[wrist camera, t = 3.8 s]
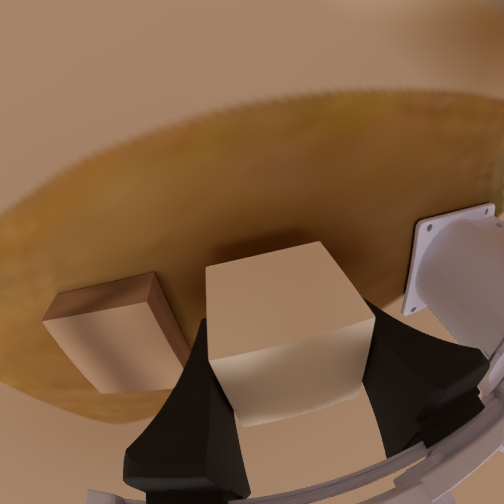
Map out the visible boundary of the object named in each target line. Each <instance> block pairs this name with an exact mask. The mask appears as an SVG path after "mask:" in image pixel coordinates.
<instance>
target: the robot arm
mask: <svg viewBox="0 0 504 504" xmlns="http://www.w3.org/2000/svg"><path fill="white" fill-rule="evenodd" d="M494 212H495V205H494V204H493V203H487V204H483V205H479V206H475V207H471V208H467V209H463V210H459V211H455V212H451V213H447V214H443V215H439V216H435V217H431V218H427V219H423V220H421V221H419V222H418V223H417V225H416V229H415V237H414V245H413V252H412V259H411V265H410V271H409V277H408V282H407V287H406V292H405V297H404V301H403V306H402V310H401V313H402V314H403V315H404V316H408V315H410V314H413V313H415V312H418V311H420V310H422V309H425V308H427V307H428V308H429V309H430V310H431V311H432V312H433V314H434V315H435V316H436V317H437V318H438V319H439V321H440V322H441V323H442V324H443V325H444V326H445V328H446V329H447V330H448V331H449V332H450V334H451V335H452V336H453V337H454V339H455V340H456V341H457V342H458V343H459V345H458V344H454V343H451V342H447V341H444V340H441V339H438V338H435V337H433V336H430V335H428V334H425V333H422V332H420V331H418V330H416V329H414V328H412V327H410V326H408V325H406V324H404V323H402V322H400V321H398V320H397V319H395V318H393V317H392V316H390V315H388V314H387V313H385V312H384V311H382V310H381V309H379V308H378V307H376V306H375V305H373V304H372V303H370V302H369V301H367V300H366V299H365V298H363V297H362V296H361V297H362V298H363V300H364V301H365V303H366V304H367V305H368V307H369V308H370V310H371V311H372V313H373V314H374V315H375V323H374V328H373V333H372V339H371V344H370V348H369V353H368V358H367V362H366V366H365V371H364V375H363V379H362V382H363V385H364V387H365V390H366V392H367V395H368V397H369V400H370V403H371V405H372V408H373V411H374V414H375V417H376V420H377V423H378V427H379V430H380V433H381V437H382V441H383V445H384V449H385V453H386V457H387V459H386V460H384V461H382V462H379V463H377V464H374V465H372V466H370V467H367V468H365V469H362V470H359V471H357V472H354V473H351V474H349V475H346V476H343V477H340V478H337V479H334V480H331V481H328V482H325V483H321V484H318V485H314V486H310V487H306V488H303V489H299V490H294V491H289V492H285V493H280V494H275V495H270V496H264V497H257V498H250V499H247V497H248V496H249V495H250V494H251V491H250V487H249V484H248V479H247V476H246V472H245V467H244V463H243V458H242V454H241V450H240V444H239V439H238V434H237V429H236V424H235V418H234V410H233V408H232V406H231V404H230V402H229V400H228V398H227V396H226V394H225V393H224V391H223V389H222V387H221V385H220V383H219V381H218V379H217V377H216V375H215V373H214V371H213V369H212V367H211V365H210V363H209V360H208V338H207V318H204V319H202V320H201V323H200V326H199V330H198V333H197V336H196V339H195V342H194V345H193V347H192V350H191V353H190V355H189V358H188V360H187V362H186V365H185V367H184V369H183V371H182V373H181V376H180V378H179V380H178V382H177V383H176V385H175V387H174V389H173V391H172V392H171V394H170V396H169V397H168V399H167V401H166V402H165V404H164V405H163V407H162V408H161V410H160V411H159V413H158V414H157V415H156V417H155V418H154V419H153V420H152V422H151V423H150V424H149V425H148V427H147V428H146V429H145V430H144V431H143V433H142V434H141V435H140V436H139V437H138V438H137V439H136V440H135V441H134V442H133V443H132V444H131V445H130V446H129V447H128V448H127V449H126V452H125V457H124V465H123V481H124V482H125V483H126V484H127V485H129V486H131V487H134V488H136V489H139V490H141V491H143V492H146V501H141V500H132V499H123V498H122V497H120V496H117V495H114V494H110V493H105V492H100V491H94V490H89V489H88V490H87V503H86V504H308V503H312V502H316V501H319V500H323V499H327V498H330V497H333V496H336V495H339V494H342V493H345V492H348V491H351V490H354V489H356V488H359V487H362V486H364V485H367V484H369V483H372V482H374V481H376V480H379V479H381V478H383V477H386V476H388V475H390V474H392V473H394V472H396V471H398V470H400V469H402V468H404V467H406V466H408V465H410V464H412V463H414V462H416V461H418V460H419V459H421V458H423V457H425V456H426V455H427V456H426V459H424V460H423V461H421V462H419V463H418V464H416V465H414V466H413V467H411V468H409V469H407V471H406V472H404V473H403V474H402V475H400V476H399V477H397V478H395V479H394V480H393V481H394V484H395V486H396V487H395V488H393V489H391V490H389V491H386V492H384V493H382V494H380V495H377V496H375V497H373V498H370V499H368V500H365V501H363V502H360V503H357V504H456V503H455V500H454V498H453V495H452V493H451V491H450V490H451V489H452V488H454V487H455V486H456V485H458V484H459V483H460V482H462V481H463V480H464V479H465V478H467V477H468V476H469V475H470V474H472V473H473V472H474V471H475V470H476V469H477V468H479V467H480V466H481V465H482V464H483V463H484V462H485V461H486V460H488V459H489V458H490V457H491V456H492V455H493V454H494V453H495V452H496V451H497V450H499V451H501V452H503V453H504V222H503V221H501V220H500V219H498V218H496V217H495V216H494ZM428 225H429V226H428ZM477 386H478V387H479V388H480V390H481V391H482V393H483V395H482V398H481V400H480V398H479V397H478V395H479V393H480V391H479V389H478V387H477Z"/></svg>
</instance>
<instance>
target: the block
mask: <svg viewBox="0 0 504 504" xmlns="http://www.w3.org/2000/svg"><path fill="white" fill-rule="evenodd" d="M206 310H207V338H208V360H209V363H210V365H211V367H212V369H213V371H214V373H215V375H216V377H217V379H218V381H219V383H220V385H221V387H222V389H223V391H224V393H225V394H226V396H227V398H228V400H229V402H230V404H231V406H232V408H233V410H234V411H235V413H236V415H237V417H238V419H239V420H240V422H241V424H242V426H243V427H248V426H254V425H259V424H264V423H269V422H273V421H277V420H282V419H285V418H289V417H294V416H297V415H301V414H305V413H309V412H312V411H316V410H319V409H322V408H325V407H329V406H331V405H335V404H338V403H341V402H344V401H346V400H349V399H352V398H355V397H357V396H358V393H359V390H360V386H361V382H362V379H363V375H364V371H365V366H366V362H367V358H368V353H369V348H370V344H371V339H372V333H373V328H374V323H375V315H374V314H373V313H372V311H371V310H370V308H369V307H368V305H367V304H366V303H365V301H364V300H363V298H362V297H361V296H360V294H359V293H358V291H357V290H356V289H355V287H354V286H353V285H352V283H351V282H350V280H349V279H348V278H347V276H346V275H345V274H344V272H343V271H342V270H341V268H340V267H339V266H338V264H337V263H336V262H335V260H334V259H333V258H332V256H331V255H330V254H329V252H328V251H327V250H326V249H325V247H324V246H323V245H322V243H321V242H320V241H317V242H313V243H308V244H304V245H300V246H295V247H291V248H287V249H282V250H278V251H274V252H269V253H265V254H261V255H256V256H252V257H247V258H243V259H239V260H234V261H230V262H225V263H221V264H217V265H212V266H208V267H206Z"/></svg>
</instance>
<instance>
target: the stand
mask: <svg viewBox="0 0 504 504" xmlns="http://www.w3.org/2000/svg"><path fill="white" fill-rule="evenodd" d="M42 322H43V324H44V325H45V327H46V328H47V329H48V331H49V332H50V334H51V335H52V336H53V338H54V339H55V340H56V342H57V343H58V344H59V346H60V347H61V348H62V349H63V351H64V352H65V353H66V355H67V356H68V357H69V358H70V359H71V361H72V362H73V363H74V364H75V365H76V367H77V368H78V369H79V370H80V371H81V372H82V373H83V375H84V376H85V377H86V378H87V379H88V380H89V381H90V382H91V383H92V385H93V386H94V387H95V388H96V389H97V390H98V391H99V392H100V393H101V394H108V393H128V392H141V391H153V390H162V389H171V388H174V387H175V385H176V383H177V382H178V380H179V378H180V376H181V373H182V371H183V369H184V367H185V365H186V362H187V360H188V358H189V355H190V353H191V350H190V348H189V346H188V344H187V342H186V340H185V338H184V336H183V334H182V332H181V330H180V328H179V326H178V324H177V322H176V320H175V317H174V315H173V313H172V311H171V309H170V307H169V305H168V302H167V300H166V298H165V296H164V293H163V291H162V289H161V287H160V284H159V282H158V280H157V277H156V275H155V272H152V273H147V274H143V275H139V276H134V277H130V278H126V279H121V280H117V281H113V282H109V283H104V284H100V285H96V286H92V287H87V288H83V289H79V290H75V291H70V292H66V293H62V294H58V295H57V296H56V297H55V299H54V301H53V302H52V304H51V306H50V307H49V309H48V311H47V313H46V315H45V316H44V318H43V320H42Z"/></svg>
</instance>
